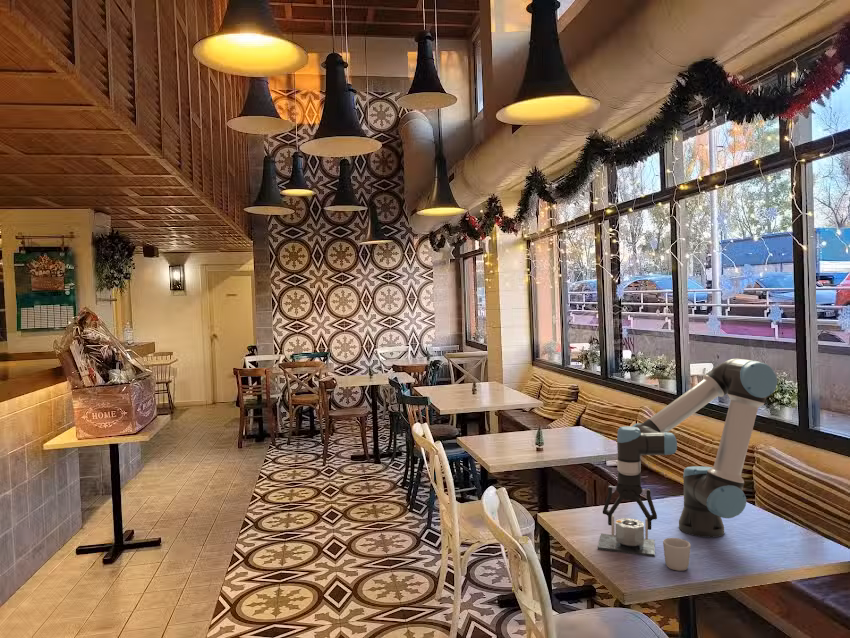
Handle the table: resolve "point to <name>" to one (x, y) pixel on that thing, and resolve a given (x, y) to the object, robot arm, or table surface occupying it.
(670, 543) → the cup
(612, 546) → the plate with peg
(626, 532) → the ring
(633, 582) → the table surface
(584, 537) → the table surface
